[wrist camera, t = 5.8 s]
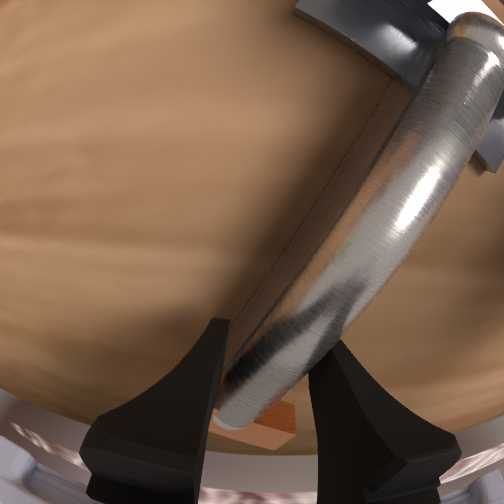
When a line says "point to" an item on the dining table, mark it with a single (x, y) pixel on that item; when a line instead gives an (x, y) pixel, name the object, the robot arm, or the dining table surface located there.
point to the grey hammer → (376, 129)
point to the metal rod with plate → (368, 234)
